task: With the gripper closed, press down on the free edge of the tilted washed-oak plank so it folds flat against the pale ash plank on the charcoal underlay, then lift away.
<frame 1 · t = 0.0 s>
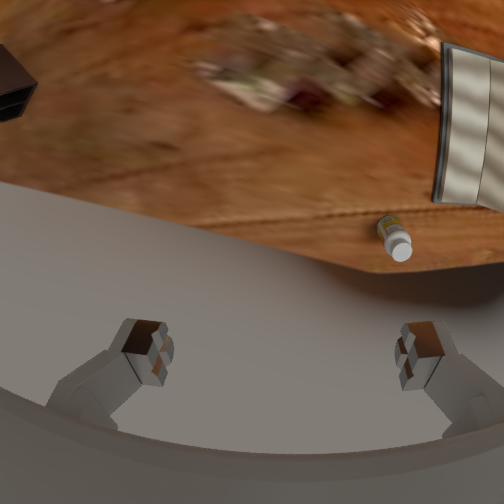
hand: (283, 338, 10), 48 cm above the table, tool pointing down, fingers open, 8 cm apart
floor panel: (490, 132, 45), on the table
supplement bottle: (388, 226, 59), on the table
letter holder: (11, 78, 47), on the table
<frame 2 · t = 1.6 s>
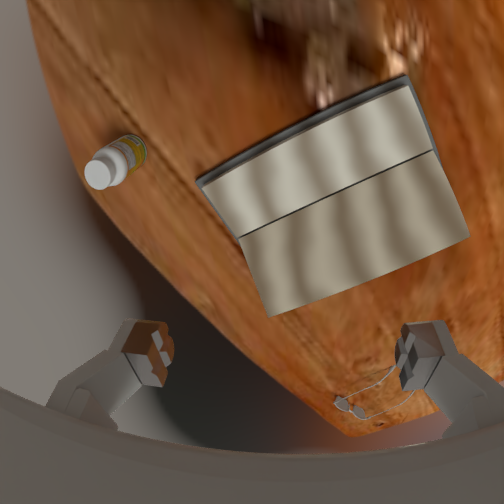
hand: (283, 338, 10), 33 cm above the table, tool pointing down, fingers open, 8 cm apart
floor panel: (339, 201, 42), on the table
loose plank: (352, 237, 39), point 5 cm above the table, hinge at 35.0°
supplement bottle: (132, 150, 42), on the table
eyeglasses: (377, 387, 68), on the table
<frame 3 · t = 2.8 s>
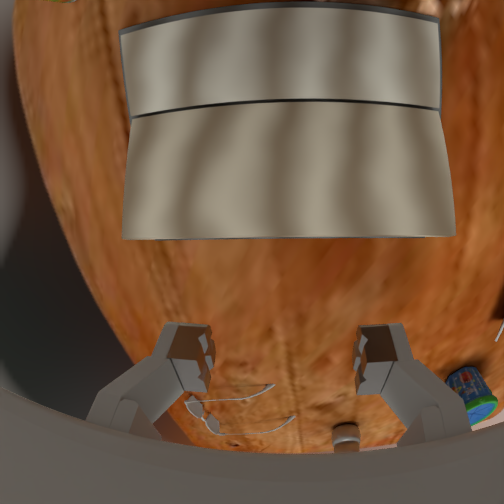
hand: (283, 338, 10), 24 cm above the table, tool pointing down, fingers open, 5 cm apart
floor panel: (286, 123, 29), on the table
loose plank: (287, 166, 26), point 5 cm above the table, hinge at 35.0°
snack cup: (460, 375, 48), on the table
eyeglasses: (243, 403, 58), on the table
plastic bottle: (345, 426, 60), on the table
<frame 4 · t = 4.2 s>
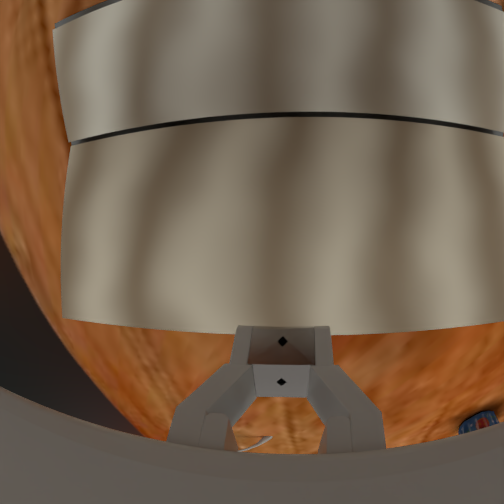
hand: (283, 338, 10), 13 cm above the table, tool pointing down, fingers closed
floor panel: (289, 146, 20), on the table
loose plank: (290, 222, 17), point 5 cm above the table, hinge at 35.0°
snack cup: (475, 418, 39), on the table
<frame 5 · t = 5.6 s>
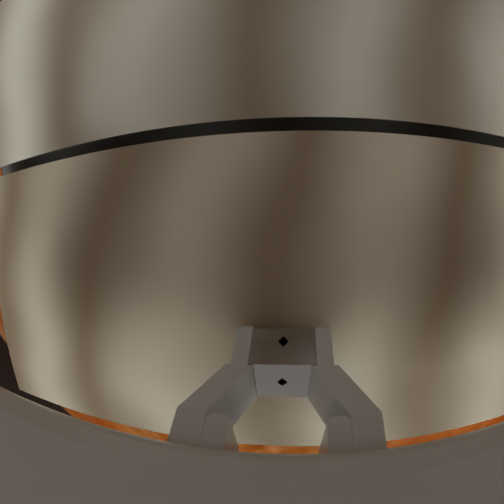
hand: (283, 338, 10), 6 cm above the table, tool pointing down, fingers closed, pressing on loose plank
floor panel: (287, 170, 13), on the table
loose plank: (288, 303, 11), point 5 cm above the table, hinge at 27.9°, touching gripper
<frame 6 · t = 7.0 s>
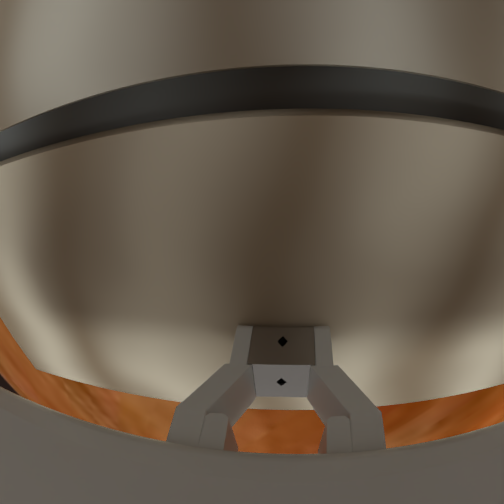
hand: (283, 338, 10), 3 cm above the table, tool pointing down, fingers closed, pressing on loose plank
floor panel: (284, 151, 9), on the table
loose plank: (286, 302, 10), point 2 cm above the table, hinge at 0.0°, touching gripper
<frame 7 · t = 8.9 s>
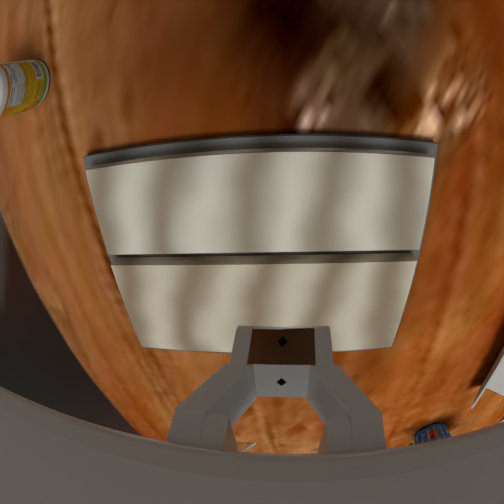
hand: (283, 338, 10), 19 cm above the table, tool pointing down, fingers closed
floor panel: (261, 262, 31), on the table
loose plank: (262, 309, 32), point 2 cm above the table, hinge at 0.0°
snack cup: (429, 429, 51), on the table
supplement bottle: (34, 83, 22), on the table
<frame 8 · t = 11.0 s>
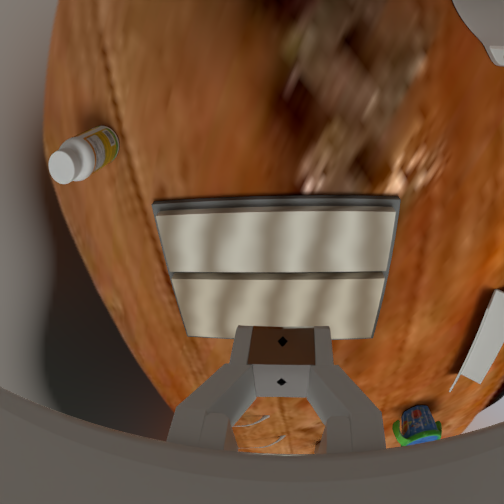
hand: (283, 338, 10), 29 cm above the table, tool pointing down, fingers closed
floor panel: (277, 277, 45), on the table
loose plank: (277, 308, 46), point 2 cm above the table, hinge at 0.0°
snack cup: (414, 410, 64), on the table
supplement bottle: (104, 143, 37), on the table
z bracket: (484, 333, 49), on the table
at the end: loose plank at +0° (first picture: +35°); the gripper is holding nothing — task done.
